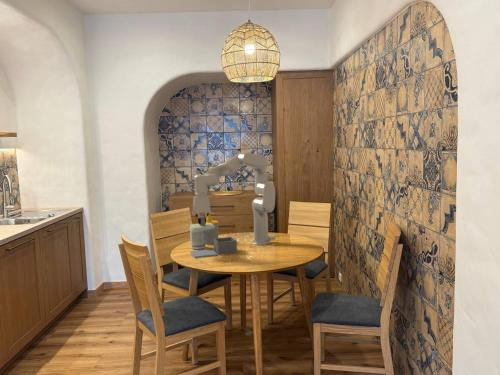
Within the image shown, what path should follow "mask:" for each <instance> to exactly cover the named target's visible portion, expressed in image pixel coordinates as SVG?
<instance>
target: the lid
mask: <svg viewBox="0 0 500 375" xmlns="http://www.w3.org/2000/svg"><path fill="white" fill-rule="evenodd" d="M200 218H201V225H200V224H199V223H191V224H190V225H189V228H190V227H191V228H193V229H194V230H196V231H200V230H211V229H212V228H215V226H214V225H213V224H211V223H206V224H205V217H204V215H200Z"/></svg>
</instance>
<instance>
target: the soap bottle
mask: <svg viewBox="0 0 500 375" xmlns="http://www.w3.org/2000/svg"><path fill="white" fill-rule="evenodd" d="M214 214H215V213H214V212H212V213H211V214H209V215H208V216H207V218H206V223H211V224H213V225H214V226H215V228H212V229H211V230H204V232H205V245H207V244H208V245H214V239H215V238H219V222H220V221H218V220H213V218H212V216H211V215H214Z"/></svg>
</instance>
